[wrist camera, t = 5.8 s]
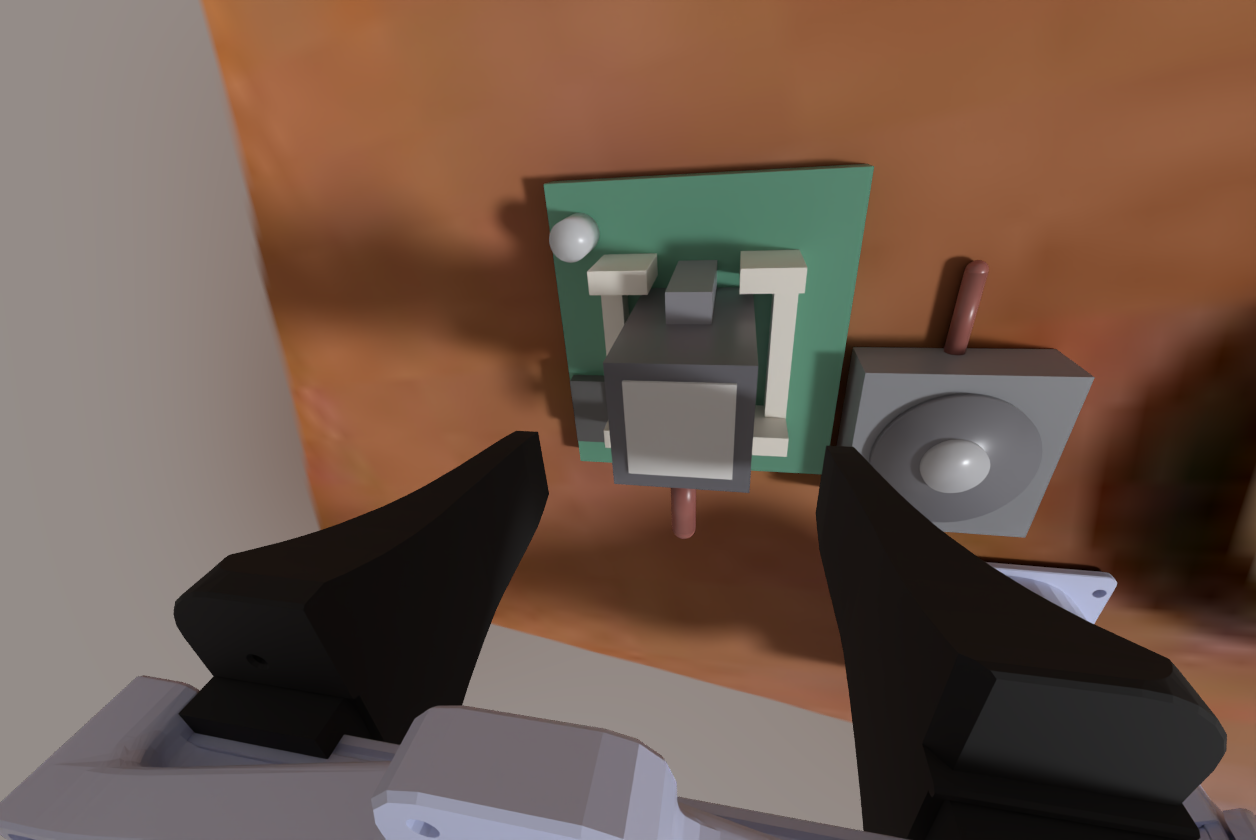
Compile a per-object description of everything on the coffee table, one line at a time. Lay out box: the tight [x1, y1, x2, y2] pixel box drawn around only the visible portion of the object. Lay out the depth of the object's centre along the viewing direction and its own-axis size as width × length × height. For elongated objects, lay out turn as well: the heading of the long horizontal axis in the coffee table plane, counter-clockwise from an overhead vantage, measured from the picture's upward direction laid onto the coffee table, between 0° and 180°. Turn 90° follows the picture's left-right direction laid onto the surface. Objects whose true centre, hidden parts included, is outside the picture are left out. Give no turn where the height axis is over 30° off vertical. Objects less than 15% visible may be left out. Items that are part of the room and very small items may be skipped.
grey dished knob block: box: [837, 260, 1095, 537], centre depth 19 cm, size 10×7×3 cm
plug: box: [603, 260, 758, 539], centre depth 17 cm, size 8×4×7 cm, turn 4°
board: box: [544, 164, 874, 474], centre depth 19 cm, size 12×11×4 cm
